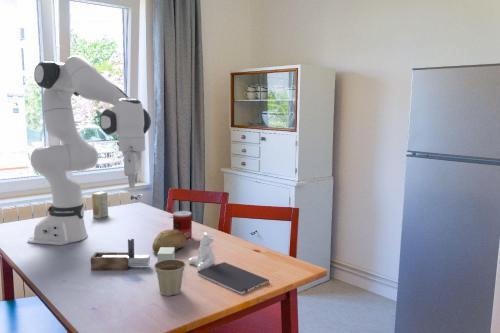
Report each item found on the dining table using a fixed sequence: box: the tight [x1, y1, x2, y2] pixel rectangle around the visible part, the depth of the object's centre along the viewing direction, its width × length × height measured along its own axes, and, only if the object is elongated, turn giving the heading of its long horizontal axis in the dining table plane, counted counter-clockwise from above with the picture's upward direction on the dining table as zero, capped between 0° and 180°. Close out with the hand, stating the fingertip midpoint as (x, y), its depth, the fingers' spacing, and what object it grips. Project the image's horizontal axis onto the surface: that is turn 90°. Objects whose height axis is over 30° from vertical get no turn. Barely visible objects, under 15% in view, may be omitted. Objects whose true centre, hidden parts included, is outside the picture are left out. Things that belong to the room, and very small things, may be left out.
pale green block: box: [156, 247, 176, 263], centre depth 148 cm, size 5×6×6 cm
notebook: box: [197, 261, 270, 294], centre depth 141 cm, size 13×2×21 cm
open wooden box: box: [90, 251, 130, 271], centre depth 148 cm, size 12×5×4 cm, turn 93°
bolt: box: [102, 238, 151, 267], centre depth 147 cm, size 16×3×9 cm, turn 93°
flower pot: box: [153, 258, 187, 297], centre depth 130 cm, size 9×9×9 cm
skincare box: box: [91, 190, 109, 219], centre depth 210 cm, size 6×4×12 cm
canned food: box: [172, 210, 193, 241], centre depth 180 cm, size 8×8×11 cm
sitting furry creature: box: [188, 232, 217, 272], centre depth 151 cm, size 10×9×12 cm
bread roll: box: [152, 228, 188, 254], centre depth 166 cm, size 10×15×8 cm, turn 139°
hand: (133, 185), depth 149 cm, fingers open, 8 cm apart
